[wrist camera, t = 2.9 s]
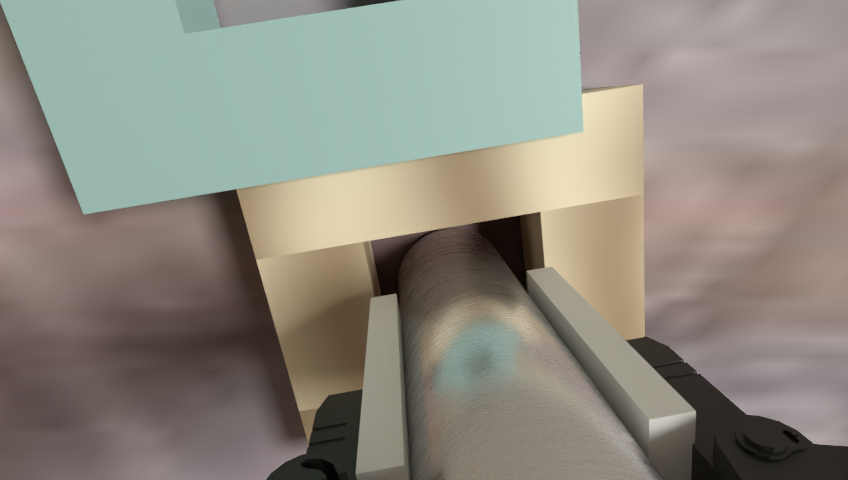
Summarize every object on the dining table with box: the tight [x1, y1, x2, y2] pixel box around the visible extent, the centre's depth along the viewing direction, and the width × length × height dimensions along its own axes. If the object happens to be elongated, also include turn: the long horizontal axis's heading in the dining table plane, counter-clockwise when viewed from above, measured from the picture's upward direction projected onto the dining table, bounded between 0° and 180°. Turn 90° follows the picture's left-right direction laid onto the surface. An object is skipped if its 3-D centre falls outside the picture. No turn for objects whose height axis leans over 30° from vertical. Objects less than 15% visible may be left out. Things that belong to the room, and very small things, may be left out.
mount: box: [236, 84, 645, 445], centre depth 16 cm, size 12×12×2 cm
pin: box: [398, 228, 664, 480], centre depth 10 cm, size 5×5×15 cm
